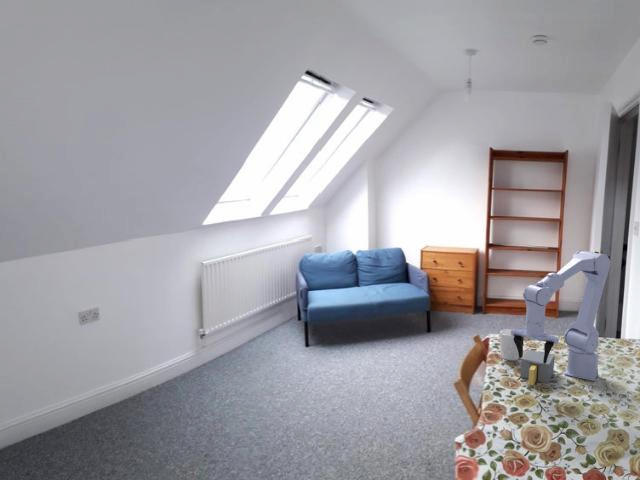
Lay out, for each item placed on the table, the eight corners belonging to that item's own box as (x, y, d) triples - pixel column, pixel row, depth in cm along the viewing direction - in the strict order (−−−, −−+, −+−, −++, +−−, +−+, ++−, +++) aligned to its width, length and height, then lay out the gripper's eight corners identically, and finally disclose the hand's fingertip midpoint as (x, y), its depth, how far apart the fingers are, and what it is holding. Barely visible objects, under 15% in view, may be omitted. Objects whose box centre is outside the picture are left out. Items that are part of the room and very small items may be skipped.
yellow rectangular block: (539, 374, 170) (540, 360, 169) (533, 385, 162) (534, 370, 161) (534, 373, 170) (535, 359, 170) (528, 384, 162) (529, 369, 162)
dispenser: (553, 372, 172) (554, 354, 170) (547, 384, 163) (548, 365, 162) (526, 367, 177) (527, 349, 176) (519, 377, 168) (520, 359, 167)
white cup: (522, 362, 181) (524, 336, 180) (500, 360, 183) (502, 335, 181) (518, 353, 189) (519, 329, 187) (497, 352, 190) (498, 328, 189)
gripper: (509, 320, 160) (507, 358, 163) (556, 328, 152) (554, 368, 154) (514, 315, 166) (512, 352, 168) (560, 322, 158) (558, 361, 160)
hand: (532, 359), depth 162 cm, fingers open, 7 cm apart
